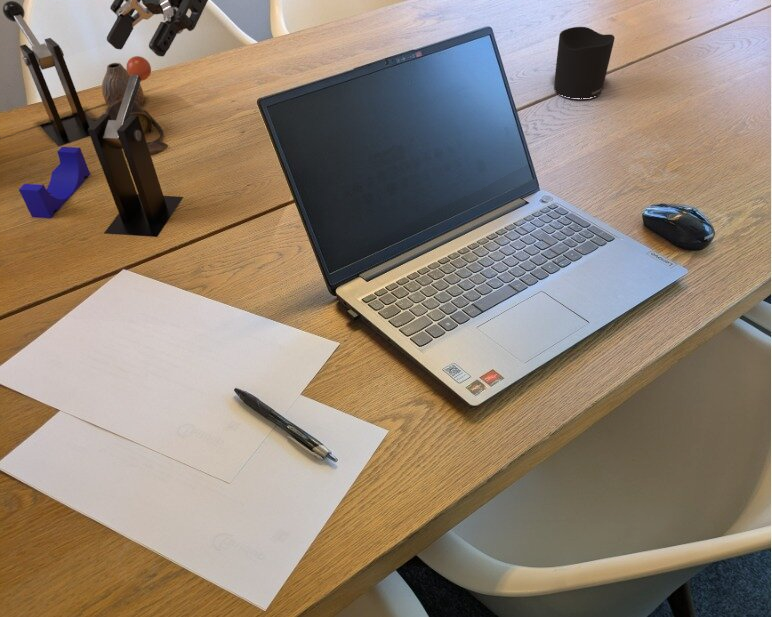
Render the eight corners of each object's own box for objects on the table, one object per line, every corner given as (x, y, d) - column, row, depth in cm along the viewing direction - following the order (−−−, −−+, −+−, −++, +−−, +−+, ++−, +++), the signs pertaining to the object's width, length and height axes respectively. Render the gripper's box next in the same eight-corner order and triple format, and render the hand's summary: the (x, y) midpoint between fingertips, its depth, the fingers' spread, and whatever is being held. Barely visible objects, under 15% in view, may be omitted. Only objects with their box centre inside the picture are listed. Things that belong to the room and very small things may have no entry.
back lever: (2, 15, 111) (-4, -1, 108) (21, 10, 112) (16, -6, 109) (39, 72, 107) (35, 57, 105) (59, 67, 109) (55, 52, 106)
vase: (112, 105, 125) (96, 59, 119) (149, 101, 125) (135, 55, 120) (107, 122, 120) (91, 75, 114) (146, 117, 120) (132, 71, 115)
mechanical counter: (160, 94, 115) (98, 92, 111) (168, 118, 106) (100, 117, 102) (162, 134, 119) (102, 133, 115) (170, 161, 109) (105, 161, 106)
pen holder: (557, 103, 119) (566, 48, 112) (546, 81, 126) (554, 27, 119) (609, 101, 119) (621, 45, 112) (595, 78, 126) (606, 25, 119)
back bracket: (42, 132, 118) (4, 43, 107) (86, 117, 121) (53, 30, 111) (61, 153, 112) (23, 61, 101) (106, 137, 115) (74, 47, 105)
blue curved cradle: (67, 179, 106) (53, 146, 102) (93, 181, 105) (80, 147, 101) (26, 223, 97) (8, 188, 93) (54, 225, 96) (38, 190, 92)
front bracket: (136, 201, 100) (102, 103, 90) (185, 204, 99) (157, 105, 89) (106, 240, 93) (65, 139, 82) (159, 244, 92) (125, 142, 81)
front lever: (136, 67, 93) (125, 50, 90) (157, 68, 93) (147, 51, 90) (109, 150, 88) (97, 135, 85) (131, 151, 87) (120, 136, 85)
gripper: (135, -78, 88) (77, 24, 86) (209, -76, 81) (149, 34, 79) (173, -34, 95) (120, 61, 92) (244, -30, 88) (189, 73, 85)
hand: (133, 48), depth 86 cm, fingers open, 8 cm apart
